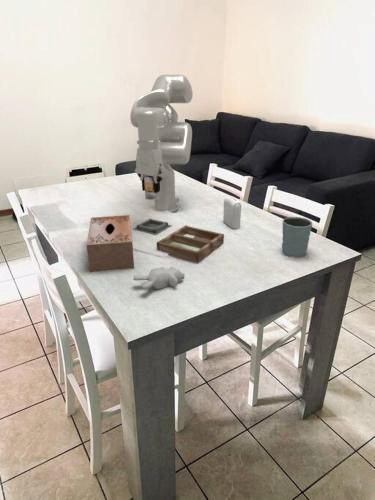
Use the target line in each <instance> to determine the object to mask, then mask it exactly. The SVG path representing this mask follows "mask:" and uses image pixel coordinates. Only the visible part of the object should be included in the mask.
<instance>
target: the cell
mask: <svg viewBox="0 0 375 500" xmlns="http://www.w3.org/2000/svg"><path fill="white" fill-rule="evenodd" d="M154 183H155V181H154V178H153V176H147V175H144V186H145V191H144V196H145V197H144V198H145V200H150V201H151V200H152V201H153V200H154V201H155V199H157V198H158V192H157V193H154Z"/></svg>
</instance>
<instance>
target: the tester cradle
mask: <svg viewBox="0 0 375 500" xmlns="http://www.w3.org/2000/svg"><path fill="white" fill-rule="evenodd" d="M172 226H173V225H172V224H169V222H166V221H162V220H157V219H153V218H149V219H146V220H145V221H143V222H141V223H139V224H137V225H136V227H134V228H132V231H133V230H134V231H137V232H142V233H145V234H149V235H154V236H157V235H159V234H160V233H162V232H164V231H166V230H167V229H169V228H171V227H172Z"/></svg>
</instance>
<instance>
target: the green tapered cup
mask: <svg viewBox="0 0 375 500" xmlns="http://www.w3.org/2000/svg"><path fill="white" fill-rule="evenodd" d="M312 226H313V221H311V220H310V219H308V218H306V217H299V216H290V217H285V218H284V219H283V220H282V240H281V241H282V243H281V252H282V254H283V255H285V256H286V257H290V258H303V257H305V256H306V255H307V251H308V248H309V247H308V245H309V242H310V236H311V230H312V228H313V227H312Z"/></svg>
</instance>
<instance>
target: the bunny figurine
mask: <svg viewBox="0 0 375 500" xmlns="http://www.w3.org/2000/svg"><path fill="white" fill-rule="evenodd" d="M184 279H185V273H183V272H181V270H180V269H177V268H175V267H172V266H171V267H168V268H165V267H156V268H152V269H150V271H149V273H148V275H139V274H136V275H134V276H133V280H134V281H145V282H142V283H141V284H140V285H141V289H142V290H149V289H150V288H152V287H153V288H155V289H156V290H162V289H165V288H167V287H168V286H170V287H178V284H180V283H181V282H182V281H183V280H184Z"/></svg>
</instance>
